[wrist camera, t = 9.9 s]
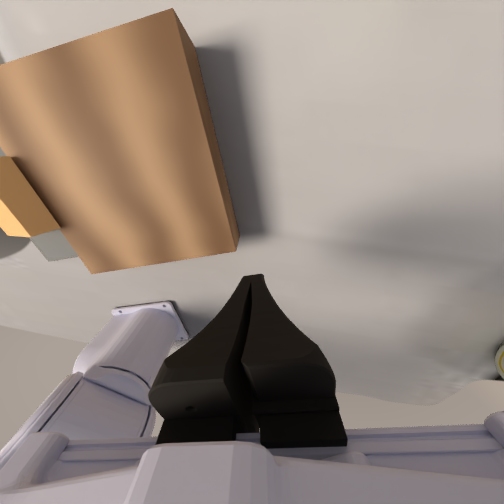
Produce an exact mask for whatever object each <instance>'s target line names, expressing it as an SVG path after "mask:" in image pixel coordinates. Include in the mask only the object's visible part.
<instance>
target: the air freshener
mask: <svg viewBox="0 0 504 504" xmlns="http://www.w3.org/2000/svg"><path fill="white" fill-rule="evenodd" d="M495 366H496V369H497V371H498V373H499V374H500V375H501V376H502V377H503V379H504V342H503V343H502V344H501V345H500V348H499V350H498V351H497V353H496V356H495Z"/></svg>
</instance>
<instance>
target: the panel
mask: <svg viewBox="0 0 504 504" xmlns="http://www.w3.org/2000/svg"><path fill="white" fill-rule="evenodd" d="M0 147H1V149H2V150H3V151H4V153H5V154H6V156H10V157H11V159H12V160H13V162H14V163H15V164H16V166H17V167H18V169H19V170H20V171H21V173H22V174H23V176H24V177H25V178H26V180H27V181H28V183H29V184H30V185H31V187H32V188H33V190H34V191H35V192H36V194H37V195H38V197H39V198H40V199H41V201H42V202H43V204H44V205H45V207H46V208H47V209H48V211H49V212H50V214H51V215H52V216H53V218H54V219H55V221H56V222H57V223H58V225H59V226H60V231H61V232H62V234H63V235H64V236H65V238H66V239H67V241H68V242H69V243H70V245H71V246H72V248H73V249H74V250H75V252H76V253H77V255H78V256H79V257H80V259H81V260H82V261H83V263H84V264H85V266H86V267H87V268H88V270H89V271H90V273H91V274H96V273H102V272H108V271H115V270H121V269H127V268H134V267H140V266H146V265H153V264H159V263H165V262H172V261H178V260H184V259H191V258H197V257H203V256H210V255H216V254H222V253H229V252H235V251H236V249H237V245H238V241H239V237H240V235H239V230H238V226H237V222H236V218H235V214H234V210H233V205H232V201H231V197H230V193H229V189H228V184H227V180H226V176H225V172H224V168H223V163H222V159H221V155H220V151H219V147H218V143H217V138H216V134H215V130H214V126H213V122H212V117H211V113H210V109H209V105H208V101H207V96H206V92H205V88H204V84H203V80H202V76H201V71H200V67H199V63H198V59H197V55H196V50H195V46H194V45H193V43H192V41H191V39H190V38H189V36H188V34H187V32H186V31H185V29H184V27H183V25H182V23H181V22H180V20H179V18H178V16H177V15H176V13H175V11H174V9H173V8H171V9H168V10H165V11H162V12H159V13H156V14H153V15H150V16H147V17H144V18H141V19H138V20H135V21H132V22H129V23H126V24H123V25H120V26H117V27H114V28H111V29H108V30H104V31H101V32H98V33H95V34H92V35H89V36H86V37H83V38H80V39H77V40H74V41H71V42H68V43H65V44H62V45H59V46H56V47H53V48H50V49H47V50H44V51H41V52H38V53H35V54H32V55H29V56H26V57H23V58H20V59H17V60H14V61H11V62H8V63H5V64H2V65H0Z"/></svg>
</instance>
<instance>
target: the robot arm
mask: <svg viewBox="0 0 504 504" xmlns="http://www.w3.org/2000/svg"><path fill="white" fill-rule="evenodd" d="M165 305H166V306H165ZM111 312H112V314H113V315H114V316H113V317H112V318H111V319H110V320H109V321H108V323H107V324H106V325H105V326H104V327H103V328H102V329H101V330H100V331H99V332H98V333H97V334H96V336H95V337H94V338H93V339H92V340H91V341H90V342H89V343H88V344H87V345H86V346H85V348H84V349H83V350H82V351H81V353H80V354H79V355H78V357H77V359H76V361H75V364H74V367H73V374H71V375H68V376H66V378H65V379H64V380H63V381H62V382H61V383H60V384H59V385H58V386H57V387H56V388H55V389H54V390H53V392H52V393H51V394H50V395H49V396H48V397H47V398H46V399H45V400H44V402H43V403H42V404H41V405H40V406H39V407H38V408H37V409H36V411H35V412H34V413H33V414H32V415H31V416H30V417H29V418H28V420H27V421H26V422H25V423H24V424H23V425H22V426H21V428H20V429H19V430H18V431H17V432H16V433H15V434H14V436H13V437H12V438H11V439H10V440H9V441H8V442H7V444H6V445H5V446H4V447H3V448H2V450H1V451H0V504H504V411H501V412H496V413H493V414H490V415H489V416H488V417H487V418H486V419H485V421H484V424H471V425H446V426H418V427H393V428H366V429H344V426H343V422H342V419H341V416H340V414H339V406H338V402H337V399H336V396H335V388H336V380H335V376H334V373H333V371H332V369H331V367H330V365H329V363H328V361H327V359H326V358H325V356H324V354H323V353H322V351H321V350H320V348H319V347H318V345H317V344H315V343H314V342H313V341H312V340H310V339H309V338H308V337H307V336H306V335H305V334H303V333H302V332H301V331H300V330H299V329H298V328H297V327H296V326H295V325H294V324H293V323H292V322H291V321H290V320H289V319H288V318H287V316H286V315H285V314H284V313H283V312H282V310H281V309H280V308H279V306H278V305H277V304H276V302H275V300H274V299H273V297H272V296H271V294H270V292H269V290H268V288H267V286H266V284H265V280H264V275H263V274H256V275H249V276H243V278H242V279H241V281H240V283H239V285H238V286H237V288H236V290H235V291H234V293H233V294H232V296H231V297H230V299H229V300H228V302H227V303H226V304H225V306H224V307H223V308H222V310H221V311H220V312H219V313H218V314H217V316H216V317H215V318H214V319H213V320H212V321H211V322H210V323H209V324H208V325H207V326H206V327H205V328H204V329H203V330H202V331H201V332H200V333H198V334H197V335H196V336H195V337H194V338H193V339H191V340H190V341H189V342H188V343H186V344H185V345H184V346H183V347H181V348H180V349H178V350H177V351H176V352H174V353H173V354H171V355H170V356H169V357H167V356H168V353H169V351H170V349H171V347H172V345H173V343H174V341H179V340H187V339H188V337H189V336H188V334H187V332H186V330H185V328H184V326H183V324H182V322H181V320H180V319H179V317H178V315H177V313H176V311H175V309H174V307H173V305H172V303H171V302H169V301H167V302H159V303H152V304H144V305H136V306H129V307H121V308H114V309H113V310H112V311H111ZM156 410H157V412H158V413H159V414H160V415H161V416H162V417H163V418H164V422H163V425H162V427H161V430H160V433H159V436H158V437H151V434H152V431H153V428H154V424H155V419H156V414H155V411H156ZM259 428H260V432H259Z"/></svg>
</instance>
